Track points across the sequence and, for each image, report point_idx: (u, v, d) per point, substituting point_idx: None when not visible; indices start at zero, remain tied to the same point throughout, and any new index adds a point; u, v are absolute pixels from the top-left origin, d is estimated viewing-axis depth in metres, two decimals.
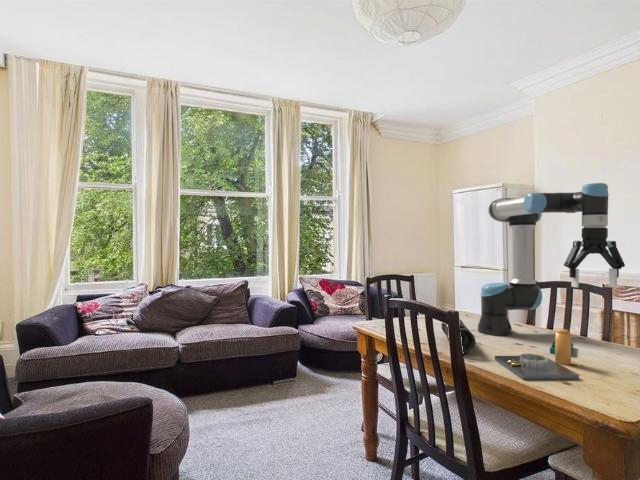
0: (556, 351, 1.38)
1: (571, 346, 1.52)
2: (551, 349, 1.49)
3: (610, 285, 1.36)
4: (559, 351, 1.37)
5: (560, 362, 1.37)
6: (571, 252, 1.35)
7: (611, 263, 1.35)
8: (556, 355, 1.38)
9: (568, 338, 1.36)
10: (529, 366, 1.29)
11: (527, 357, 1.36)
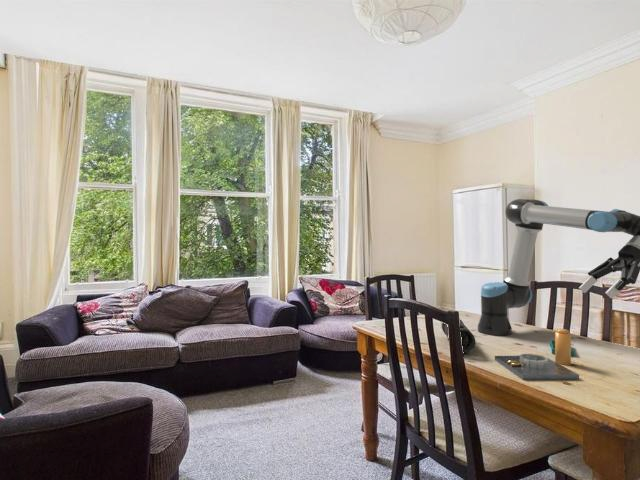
0: (556, 351, 1.38)
1: None
2: (553, 349, 1.49)
3: (582, 288, 1.44)
4: (559, 351, 1.37)
5: (560, 362, 1.37)
6: (635, 269, 1.30)
7: (599, 275, 1.44)
8: (556, 355, 1.38)
9: (568, 338, 1.36)
10: (529, 366, 1.29)
11: (527, 357, 1.36)
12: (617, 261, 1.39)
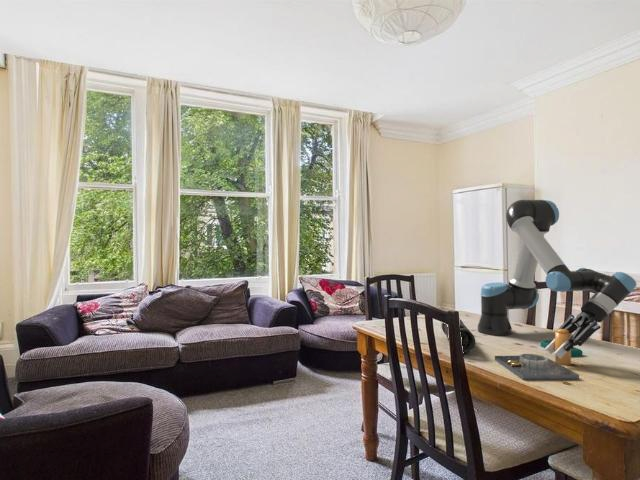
0: None
1: None
2: None
3: (548, 349, 1.41)
4: None
5: (560, 362, 1.37)
6: (587, 332, 1.32)
7: None
8: (556, 355, 1.38)
9: None
10: (529, 366, 1.29)
11: (527, 357, 1.36)
12: (580, 317, 1.39)
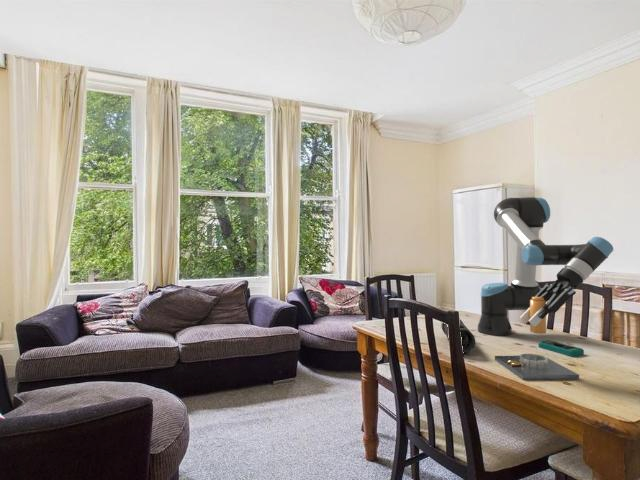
0: None
1: (563, 344, 1.55)
2: (572, 352, 1.45)
3: (523, 318, 1.35)
4: None
5: (535, 331, 1.31)
6: (562, 298, 1.26)
7: None
8: (531, 324, 1.32)
9: None
10: (529, 366, 1.29)
11: (527, 357, 1.36)
12: (555, 284, 1.33)
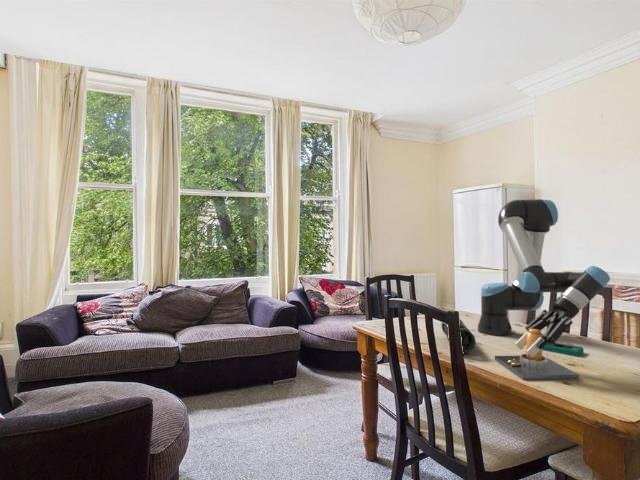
0: (527, 352, 1.32)
1: (559, 344, 1.56)
2: (578, 352, 1.45)
3: (517, 345, 1.36)
4: None
5: None
6: (560, 328, 1.26)
7: None
8: (527, 356, 1.32)
9: None
10: (529, 366, 1.29)
11: None
12: (551, 313, 1.33)
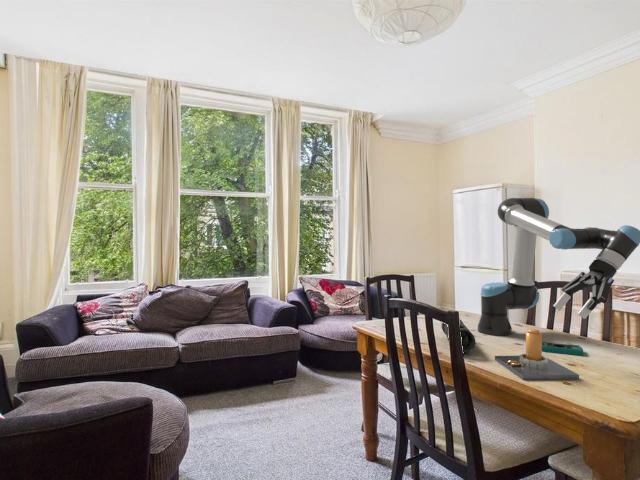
0: (526, 352, 1.32)
1: (556, 343, 1.56)
2: (582, 351, 1.46)
3: (556, 306, 1.41)
4: (529, 352, 1.31)
5: None
6: (606, 287, 1.26)
7: (573, 291, 1.40)
8: (526, 356, 1.32)
9: (538, 338, 1.30)
10: (529, 366, 1.29)
11: None
12: (588, 277, 1.35)
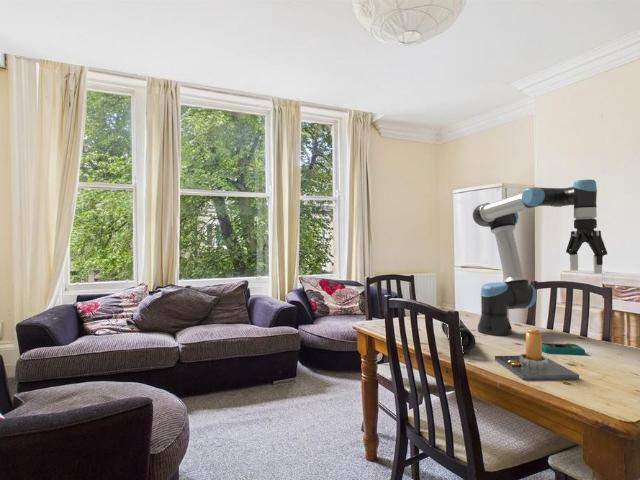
0: (526, 352, 1.32)
1: (554, 344, 1.56)
2: (584, 350, 1.48)
3: (573, 269, 1.58)
4: (529, 352, 1.31)
5: None
6: (599, 241, 1.44)
7: (576, 250, 1.58)
8: (526, 356, 1.32)
9: (538, 338, 1.30)
10: (529, 366, 1.29)
11: None
12: (579, 235, 1.53)
